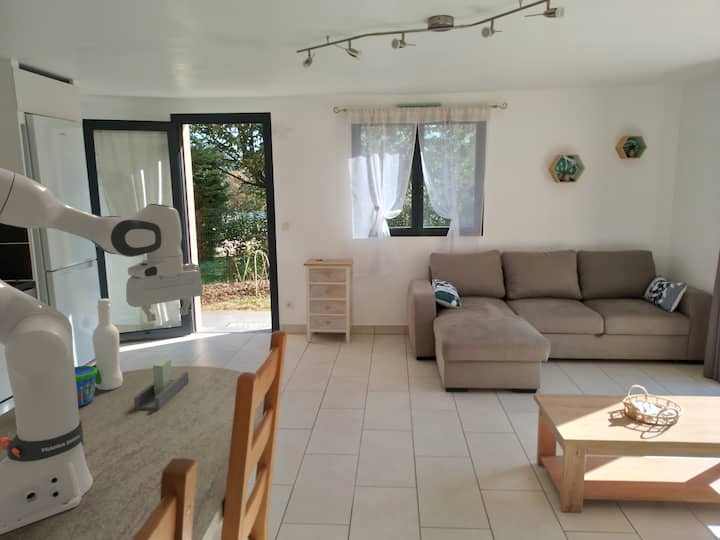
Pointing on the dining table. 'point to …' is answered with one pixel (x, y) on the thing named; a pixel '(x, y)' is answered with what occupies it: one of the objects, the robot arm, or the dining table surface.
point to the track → (152, 402)
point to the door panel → (162, 375)
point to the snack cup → (86, 383)
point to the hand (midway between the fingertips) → (168, 317)
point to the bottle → (107, 348)
